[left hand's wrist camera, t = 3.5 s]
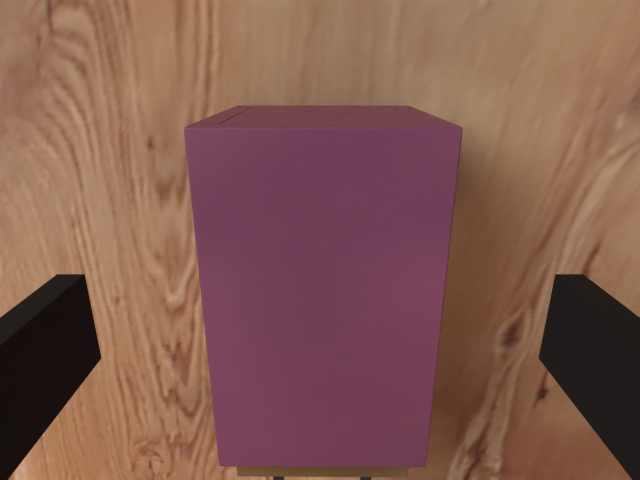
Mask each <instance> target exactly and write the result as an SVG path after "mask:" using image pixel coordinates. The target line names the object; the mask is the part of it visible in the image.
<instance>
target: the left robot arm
mask: <svg viewBox="0 0 640 480" xmlns="http://www.w3.org/2000/svg"><path fill="white" fill-rule="evenodd" d="M100 359H101V354H100V349H99V344H98V339H97V334H96V329H95V324H94V319H93V314H92V309H91V304H90V299H89V294H88V289H87V284H86V279H85V274H57V275H56V276H54V277H53V278H52V279H51V280H49V281H48V282H47V283H45V284H44V285H43V286H41V287H40V288H39V289H37V290H36V291H35V292H33V293H32V294H31V295H29V296H28V297H27V298H26V299H24V300H23V301H22V302H20V303H19V304H18V305H16V306H15V307H14V308H12V309H11V310H10V311H8V312H7V313H6V314H4V315H3V316H2V317H1V318H0V480H8V479H9V477H10V476H11V475H12V473H13V472H14V471H15V469H16V468H17V467H18V466H19V464H20V463H21V462H22V460H23V459H24V458H25V457H26V455H27V454H28V453H29V451H30V450H31V449H32V447H33V446H34V445H35V444H36V442H37V441H38V440H39V438H40V437H41V436H42V434H43V433H44V432H45V431H46V429H47V428H48V427H49V425H50V424H51V423H52V422H53V420H54V419H55V418H56V416H57V415H58V414H59V412H60V411H61V410H62V409H63V407H64V406H65V405H66V403H67V402H68V401H69V399H70V398H71V397H72V396H73V394H74V393H75V392H76V390H77V389H78V388H79V386H80V385H81V384H82V383H83V381H84V380H85V379H86V377H87V376H88V375H89V374H90V372H91V371H92V370H93V368H94V367H95V366H96V364H97V363H98V362H99V361H100ZM539 359H540V361H541V362H542V363H543V364H544V366H545V367H546V368H547V370H548V371H549V372H550V374H551V375H552V376H553V377H554V379H555V380H556V381H557V383H558V384H559V385H560V387H561V388H562V389H563V390H564V392H565V393H566V394H567V396H568V397H569V398H570V399H571V401H572V402H573V403H574V405H575V406H576V407H577V409H578V410H579V411H580V412H581V414H582V415H583V416H584V418H585V419H586V420H587V422H588V423H589V424H590V425H591V427H592V428H593V429H594V431H595V432H596V433H597V434H598V436H599V437H600V438H601V440H602V441H603V442H604V444H605V445H606V446H607V447H608V449H609V450H610V451H611V453H612V454H613V455H614V457H615V458H616V459H617V460H618V462H619V463H620V464H621V466H622V467H623V468H624V469H625V471H626V472H627V473H628V475H629V476H630V477H631V479H632V480H640V318H639V317H638V316H637V315H635V314H634V313H633V312H632V311H630V310H629V309H628V308H626V307H625V306H624V305H622V304H621V303H620V302H618V301H617V300H616V299H614V298H613V297H612V296H611V295H609V294H608V293H607V292H605V291H604V290H603V289H601V288H600V287H599V286H597V285H596V284H595V283H593V282H592V281H591V280H589V279H588V278H587V277H586V276H584V275H583V274H555V279H554V284H553V289H552V294H551V299H550V304H549V309H548V314H547V319H546V324H545V329H544V334H543V339H542V344H541V349H540V354H539Z"/></svg>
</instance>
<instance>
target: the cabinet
mask: <svg viewBox="0 0 640 480" xmlns="http://www.w3.org/2000/svg"><path fill="white" fill-rule="evenodd" d="M462 130H463V129H462V127H459V126H457V125H454V124H452V123H450V122H447V121H445V120H442V119H440V118H437V117H435V116H432V115H430V114H427V113H425V112H423V111H420V110H418V109H415V108H413V107H410V106H236V107H233V108H231V109H228V110H226V111H223V112H221V113H218V114H216V115H213V116H211V117H208V118H206V119H204V120H201V121H199V122H196V123H194V124H192V125H189V126H187V127H185V128H184V133H185V143H186V152H187V162H188V171H189V181H190V190H191V200H192V210H193V219H194V229H195V238H196V248H197V257H198V267H199V277H200V286H201V296H202V305H203V315H204V324H205V334H206V343H207V353H208V363H209V372H210V382H211V391H212V401H213V410H214V420H215V430H216V439H217V449H218V458H219V466H276V467H425V466H426V459H427V449H428V440H429V431H430V422H431V413H432V404H433V395H434V386H435V376H436V367H437V358H438V349H439V340H440V331H441V322H442V312H443V303H444V294H445V285H446V276H447V267H448V258H449V248H450V239H451V230H452V221H453V212H454V203H455V194H456V184H457V175H458V166H459V157H460V148H461V139H462Z"/></svg>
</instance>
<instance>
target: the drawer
mask: <svg viewBox="0 0 640 480" xmlns="http://www.w3.org/2000/svg"><path fill="white" fill-rule="evenodd" d="M407 475H408V467H276V466H237V476H273V480H284V476H298V477H360V480H371V477H407Z"/></svg>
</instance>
